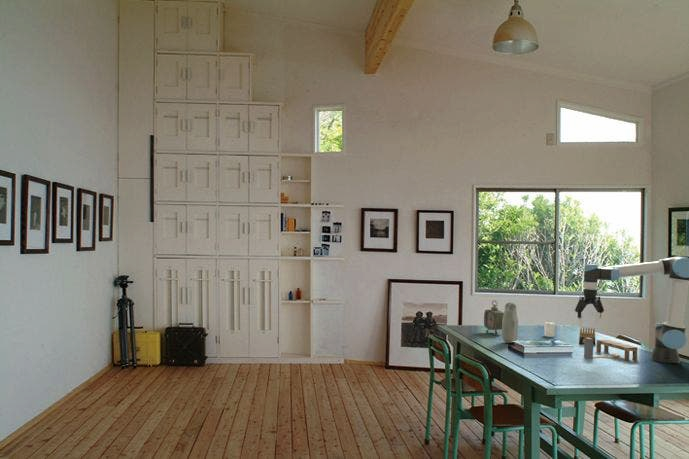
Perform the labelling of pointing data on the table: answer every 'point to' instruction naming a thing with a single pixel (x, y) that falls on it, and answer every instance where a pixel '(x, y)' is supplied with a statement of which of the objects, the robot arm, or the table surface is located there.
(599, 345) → the low bench
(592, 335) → the ammunition clip
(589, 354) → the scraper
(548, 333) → the white cup
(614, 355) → the brass token
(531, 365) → the table surface
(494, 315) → the tabletop clock
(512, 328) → the beige vase
